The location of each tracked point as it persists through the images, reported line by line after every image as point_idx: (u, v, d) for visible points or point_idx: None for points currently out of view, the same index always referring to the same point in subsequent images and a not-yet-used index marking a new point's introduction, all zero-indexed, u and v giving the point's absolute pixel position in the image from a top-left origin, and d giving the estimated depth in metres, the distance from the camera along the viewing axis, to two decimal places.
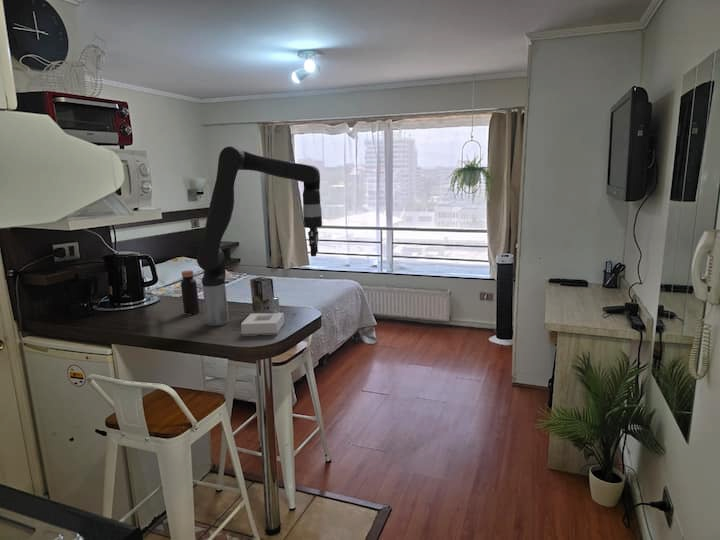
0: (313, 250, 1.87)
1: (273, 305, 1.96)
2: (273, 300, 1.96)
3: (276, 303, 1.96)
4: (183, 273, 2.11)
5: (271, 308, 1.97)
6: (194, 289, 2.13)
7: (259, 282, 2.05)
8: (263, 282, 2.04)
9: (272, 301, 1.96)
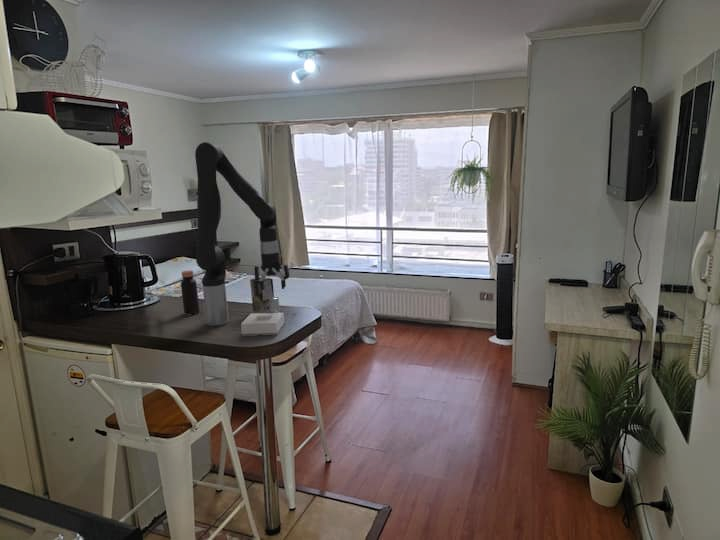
0: None
1: (273, 305, 1.96)
2: (273, 300, 1.96)
3: (276, 303, 1.96)
4: (183, 273, 2.11)
5: (271, 308, 1.97)
6: (194, 289, 2.13)
7: (259, 282, 2.05)
8: None
9: (272, 301, 1.96)
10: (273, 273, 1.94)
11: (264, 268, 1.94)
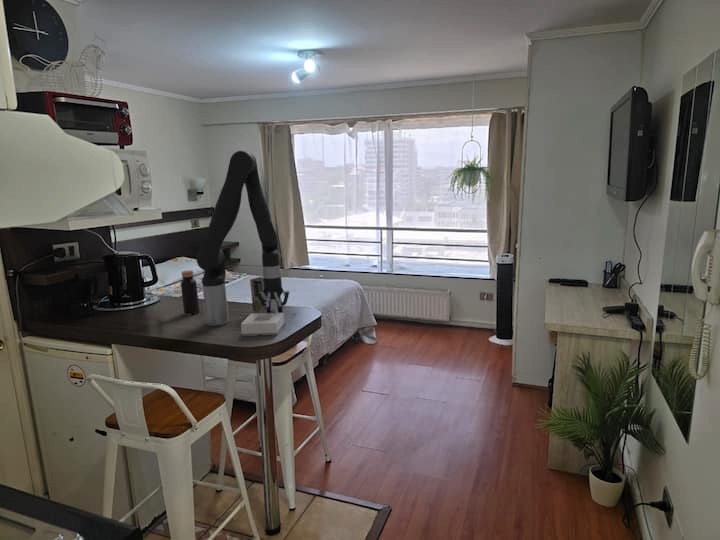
0: (282, 308, 1.98)
1: (273, 305, 1.96)
2: (273, 300, 1.96)
3: (276, 303, 1.96)
4: (183, 273, 2.11)
5: (271, 308, 1.97)
6: (194, 289, 2.13)
7: (259, 282, 2.05)
8: None
9: (272, 301, 1.96)
10: (273, 297, 1.96)
11: (266, 293, 1.96)
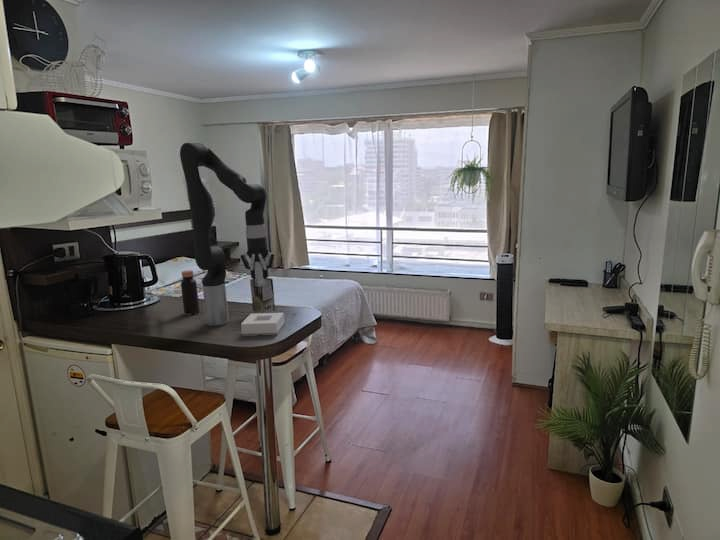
0: (267, 272, 1.83)
1: (257, 268, 1.81)
2: (257, 262, 1.81)
3: (261, 266, 1.81)
4: (183, 273, 2.11)
5: (255, 271, 1.82)
6: (194, 289, 2.13)
7: None
8: None
9: (257, 263, 1.81)
10: (258, 259, 1.81)
11: (250, 255, 1.81)
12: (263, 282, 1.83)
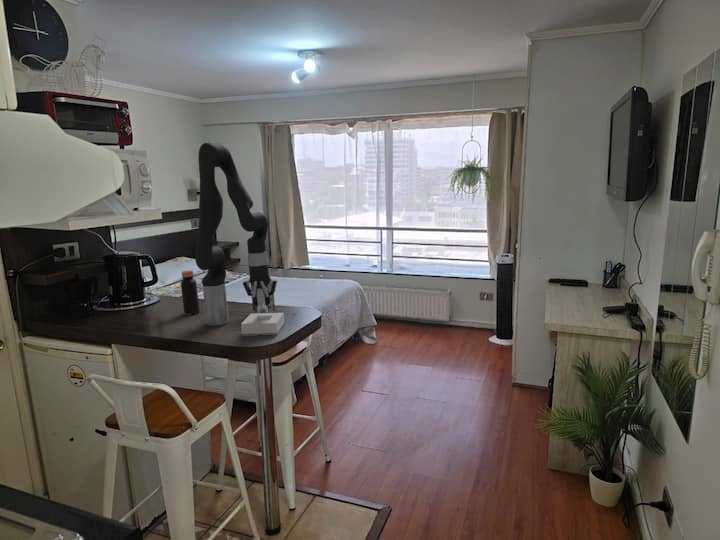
0: (269, 299, 1.85)
1: (260, 295, 1.83)
2: (260, 289, 1.83)
3: (263, 293, 1.83)
4: (183, 273, 2.11)
5: (258, 298, 1.84)
6: (194, 289, 2.13)
7: None
8: None
9: (259, 290, 1.83)
10: (260, 286, 1.83)
11: (252, 282, 1.83)
12: (265, 309, 1.85)
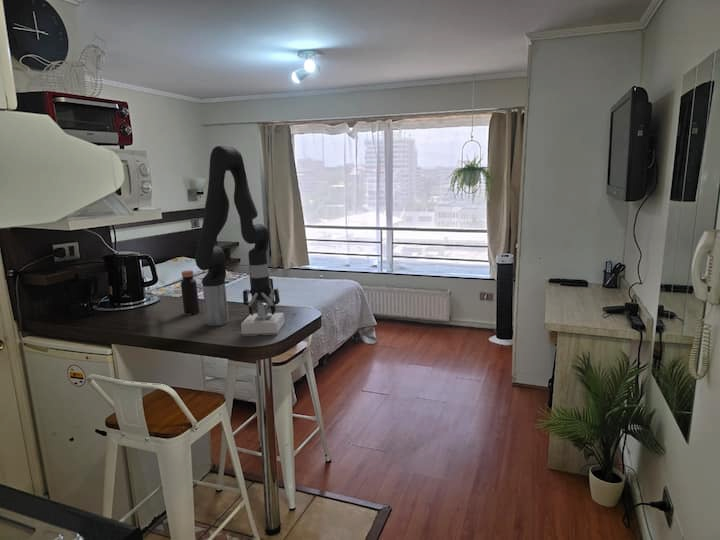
0: None
1: (261, 311, 1.84)
2: (261, 306, 1.84)
3: (264, 309, 1.84)
4: (183, 273, 2.11)
5: (259, 314, 1.85)
6: (194, 289, 2.13)
7: None
8: None
9: (260, 307, 1.84)
10: (262, 298, 1.84)
11: (253, 292, 1.84)
12: None
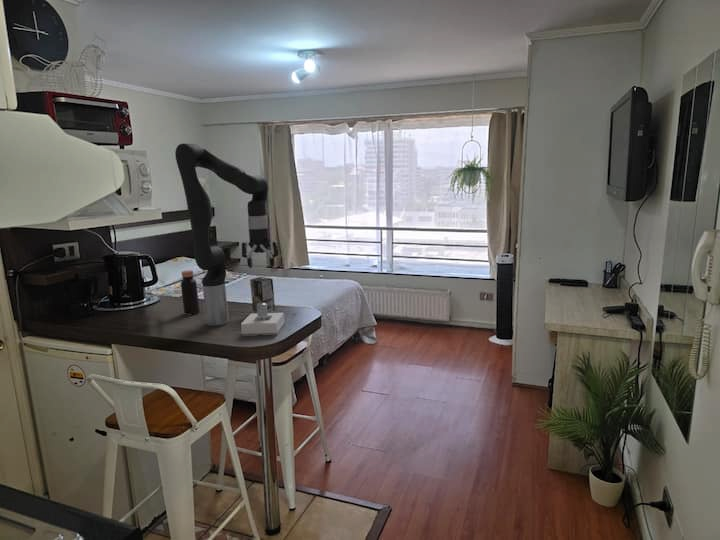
0: (273, 260, 1.85)
1: (261, 311, 1.84)
2: (261, 306, 1.84)
3: (264, 309, 1.85)
4: (183, 273, 2.11)
5: (259, 314, 1.85)
6: (194, 289, 2.13)
7: (259, 282, 2.05)
8: (263, 282, 2.04)
9: (260, 307, 1.84)
10: (261, 250, 1.84)
11: (252, 245, 1.83)
12: None
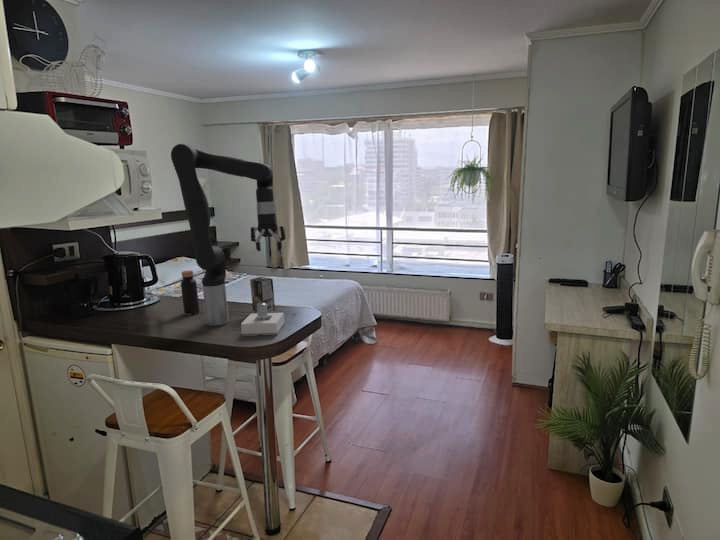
0: (281, 244, 1.96)
1: (261, 311, 1.84)
2: (261, 306, 1.84)
3: (264, 309, 1.85)
4: (183, 273, 2.11)
5: (259, 314, 1.85)
6: (194, 289, 2.13)
7: (259, 282, 2.05)
8: (263, 282, 2.04)
9: (260, 307, 1.84)
10: (269, 234, 1.94)
11: (260, 229, 1.94)
12: None
